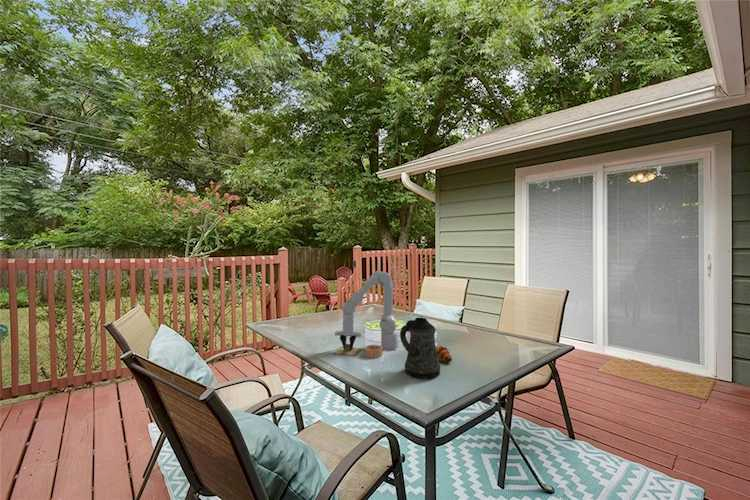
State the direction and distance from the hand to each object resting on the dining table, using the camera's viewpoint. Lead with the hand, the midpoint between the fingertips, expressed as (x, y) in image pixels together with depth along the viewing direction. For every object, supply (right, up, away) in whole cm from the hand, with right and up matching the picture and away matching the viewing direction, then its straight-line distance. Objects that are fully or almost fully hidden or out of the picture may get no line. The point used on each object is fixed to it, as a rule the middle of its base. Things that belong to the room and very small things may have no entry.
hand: (348, 349), depth 186 cm
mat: (0, -2, 0) cm, 2 cm away
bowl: (+14, -2, -6) cm, 15 cm away
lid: (0, -1, 0) cm, 1 cm away
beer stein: (+35, -3, -28) cm, 45 cm away
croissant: (+48, -3, -7) cm, 49 cm away
